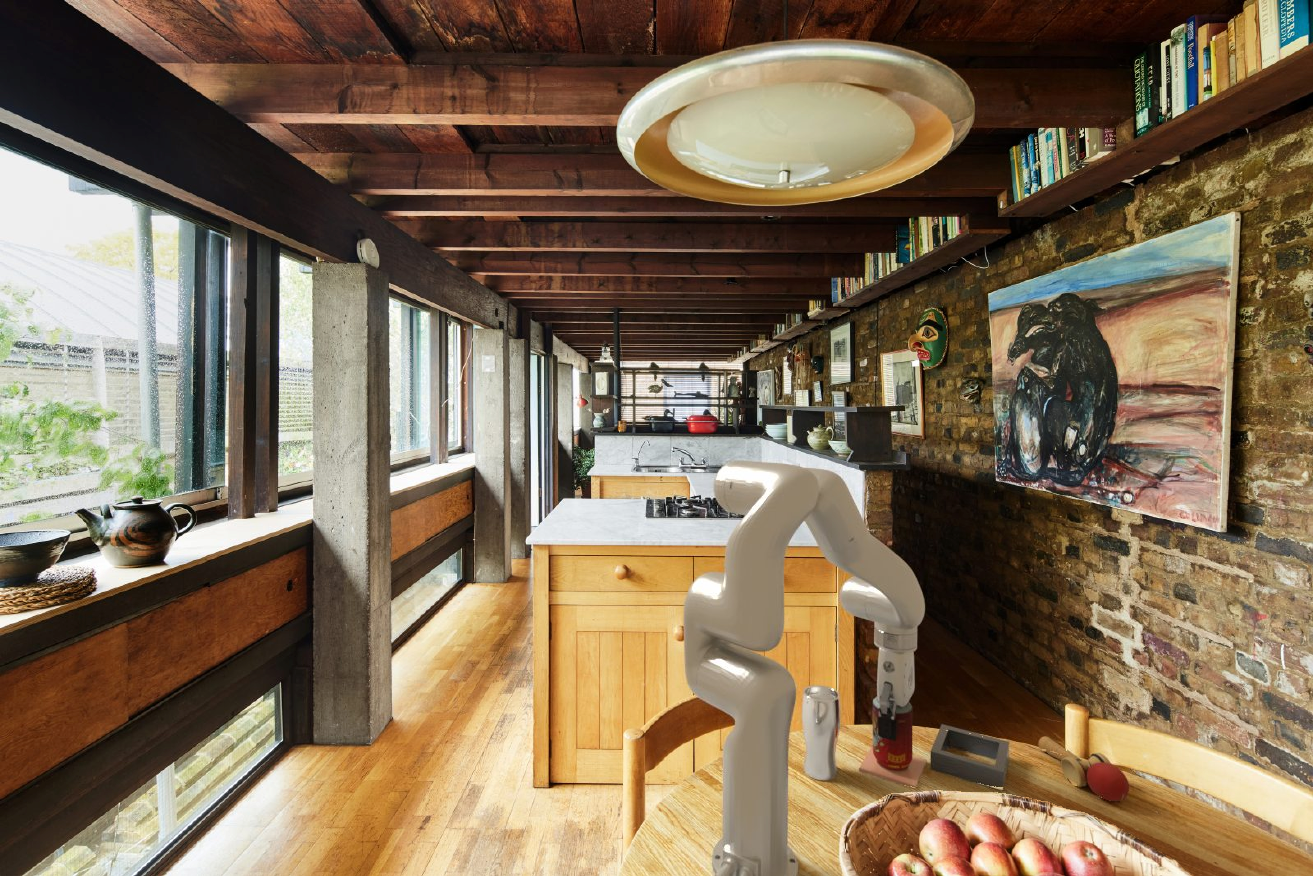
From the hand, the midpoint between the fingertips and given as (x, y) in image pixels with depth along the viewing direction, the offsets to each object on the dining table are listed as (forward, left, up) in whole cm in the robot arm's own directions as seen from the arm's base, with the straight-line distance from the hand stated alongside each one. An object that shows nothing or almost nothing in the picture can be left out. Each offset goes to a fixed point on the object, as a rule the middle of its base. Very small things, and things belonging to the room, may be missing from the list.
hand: (893, 726), depth 116 cm
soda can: (0, 0, -7) cm, 7 cm away
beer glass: (-9, +11, -8) cm, 16 cm away
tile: (0, 0, -8) cm, 8 cm away
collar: (+9, -12, -8) cm, 17 cm away
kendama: (+16, -29, -8) cm, 34 cm away
